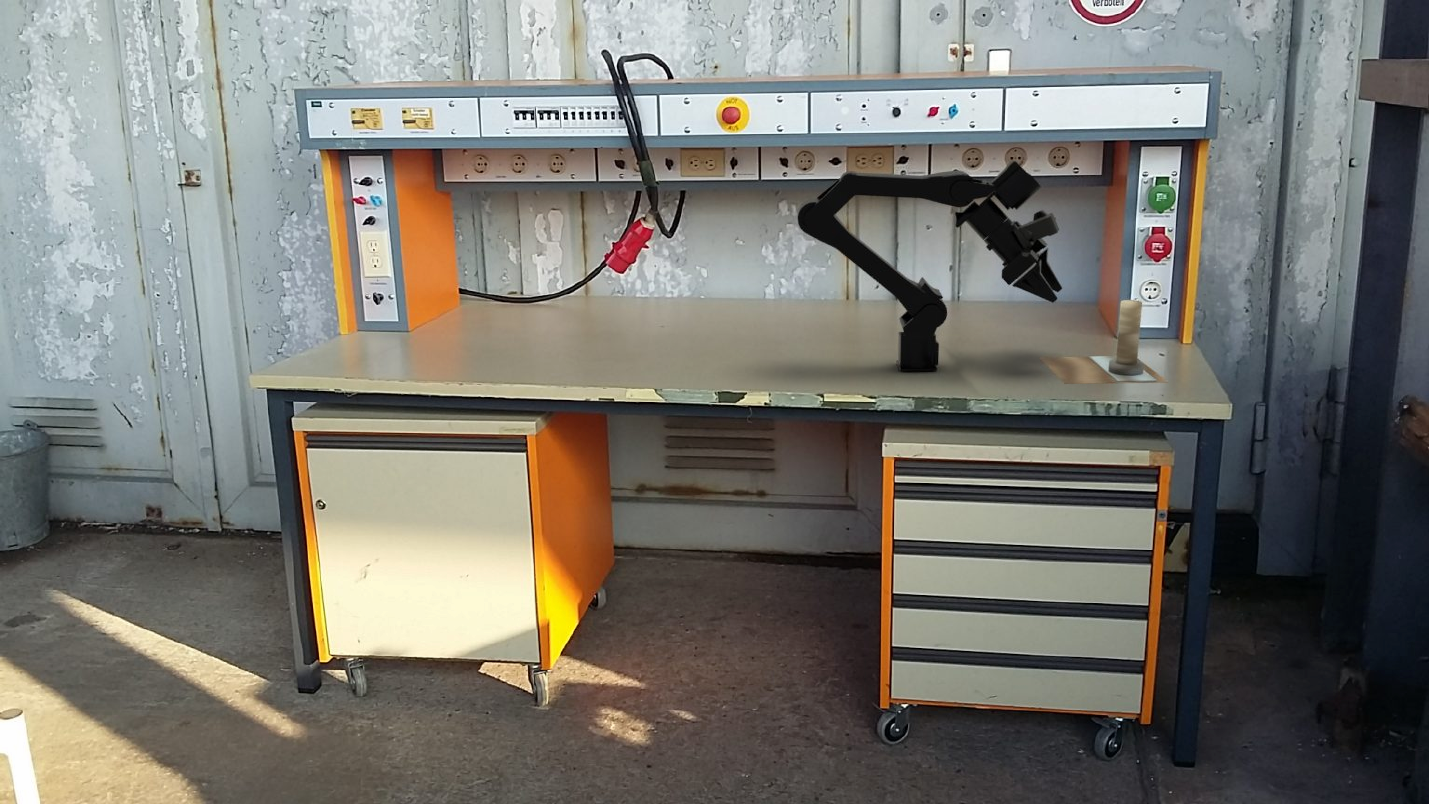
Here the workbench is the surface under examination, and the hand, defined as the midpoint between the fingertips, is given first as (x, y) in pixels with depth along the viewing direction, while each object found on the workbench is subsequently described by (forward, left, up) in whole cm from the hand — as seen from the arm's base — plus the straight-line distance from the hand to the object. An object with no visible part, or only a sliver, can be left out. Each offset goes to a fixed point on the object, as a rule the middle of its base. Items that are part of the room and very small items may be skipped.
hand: (1057, 295), depth 211 cm
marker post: (+11, -6, -12) cm, 17 cm away
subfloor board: (+7, -4, -13) cm, 16 cm away
